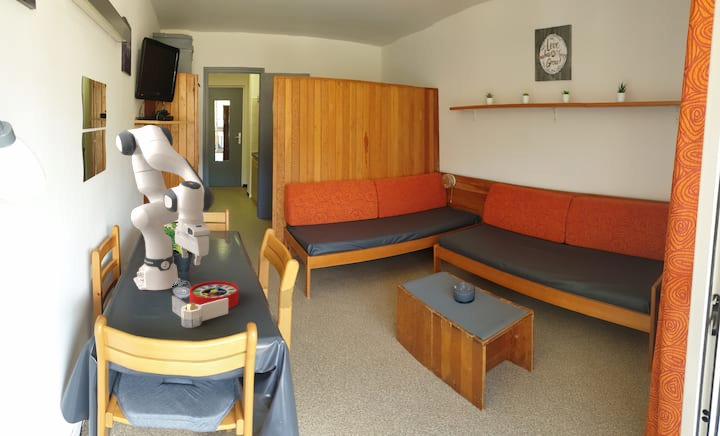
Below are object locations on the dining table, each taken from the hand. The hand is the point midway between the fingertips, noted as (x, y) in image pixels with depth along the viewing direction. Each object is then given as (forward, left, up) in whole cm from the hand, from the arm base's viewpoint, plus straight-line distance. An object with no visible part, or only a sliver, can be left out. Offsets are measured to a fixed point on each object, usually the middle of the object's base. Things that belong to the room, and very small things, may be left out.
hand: (190, 261), depth 171 cm
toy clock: (-11, +16, -25) cm, 31 cm away
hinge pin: (+3, -1, -24) cm, 24 cm away
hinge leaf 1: (-3, -2, -24) cm, 24 cm away
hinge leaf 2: (+3, +4, -24) cm, 25 cm away
